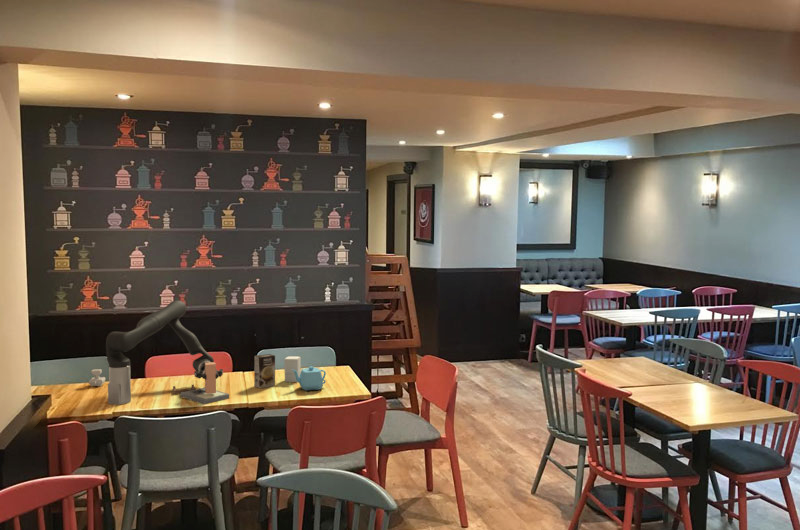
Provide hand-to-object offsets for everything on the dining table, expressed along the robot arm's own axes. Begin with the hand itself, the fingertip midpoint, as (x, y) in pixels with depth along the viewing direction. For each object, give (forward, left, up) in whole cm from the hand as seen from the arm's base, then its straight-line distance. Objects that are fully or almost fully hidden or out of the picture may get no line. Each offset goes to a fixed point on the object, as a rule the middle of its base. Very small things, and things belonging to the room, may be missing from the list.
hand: (211, 377), depth 307 cm
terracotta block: (+2, +2, -8) cm, 8 cm away
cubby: (+12, +23, -11) cm, 28 cm away
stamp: (+9, +72, -12) cm, 73 cm away
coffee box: (+33, -11, -12) cm, 37 cm away
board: (+4, +6, -11) cm, 14 cm away
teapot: (+34, -35, -12) cm, 50 cm away
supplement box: (+48, -20, -12) cm, 53 cm away
